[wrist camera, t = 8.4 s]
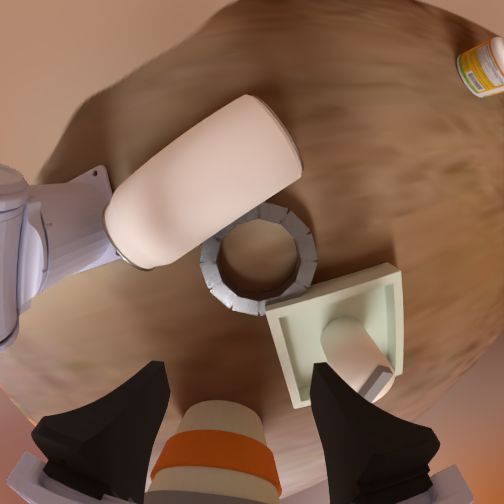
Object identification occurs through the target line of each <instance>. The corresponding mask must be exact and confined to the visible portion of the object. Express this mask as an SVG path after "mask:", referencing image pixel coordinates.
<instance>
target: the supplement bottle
mask: <svg viewBox="0 0 504 504" xmlns="http://www.w3.org/2000/svg"><path fill="white" fill-rule="evenodd" d="M457 69H458V72H459V74H460V77H461V78H462V80H463V82H464V84H465V85H466V86H467V88H468V89H469V90H470V91H471V92H472V93H473V94H475V95H476V96H478V97H487V96H491V95H494V94H498V93H502V92H504V39H503V38H501V37H495V38H492V39H490V40H488V41H486V42H484V43H482V44H480V45H478V46H476V47H474V48H472V49H470V50H468V51H466V52H464V53H462V54H460V55H459V56H458V58H457Z"/></svg>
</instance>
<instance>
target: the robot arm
mask: <svg viewBox="0 0 504 504" xmlns="http://www.w3.org/2000/svg"><path fill="white" fill-rule="evenodd" d="M96 171H97V176H95V172H96ZM112 196H113V194H112V190H111V186H110V182H109V178H108V174H107V170H106V167H105V166H103V165H99V166H97V167H95V168H93V169H91V170H89V171H87V172H85V173H83V174H82V175H80V176H78V177H76V178H74V179H73V180H71V181H69V182H67V183H58V184H42V185H29V184H28V183H27V181H25V179H24V177H23V175H22V174H21V173H20V172H19V171H17V170H16V169H14V168H11V167H9V166H6V165H3V164H0V353H2V352H4V351H5V350H7V349H8V348H9V347H10V346H11V345H12V344H13V343H14V341H15V339H16V338H17V335H18V332H19V315H20V314H22V313H23V312H25V311H26V310H28V309H29V308H30V303H31V300H32V299H33V298H34V297H35V296H36V295H38V294H39V293H41V292H43V291H44V290H46V289H48V288H49V287H51V286H53V285H54V284H56V283H58V282H60V281H61V280H63V279H65V278H67V277H68V276H70V275H73V274H76V273H78V272H81V271H84V270H87V269H90V268H93V267H96V266H99V265H102V264H105V263H108V262H111V261H114V260H117V259H120V258H122V257H121V256H120V255H119V254H118V252H117V251H116V250H115V248H114V247H113V246H112V244H111V242H110V241H109V239H108V237H107V235H106V233H105V230H104V227H103V222H102V212H103V209H104V208H105V206H106V205H108V204H110V201H111V199H112ZM170 392H171V391H170V388H169V383H168V379H167V375H166V371H165V366H164V362H160V361H151V362H150V363H148V364H147V365H146V366H145V367H144V368H142V369H141V370H140V371H139V372H138V373H136V374H135V375H134V376H133V377H131V378H130V379H129V380H128V381H126V382H125V383H124V384H122V385H121V386H119V387H118V388H116V389H115V390H114V391H112V392H111V393H109V394H107V395H106V396H104V397H102V398H100V399H98V400H96V401H94V402H92V403H90V404H88V405H85V406H83V407H81V408H78V409H75V410H72V411H68V412H65V413H61V414H56V415H51V416H45V417H43V418H42V419H41V420H40V422H39V423H38V424H37V426H36V427H35V428H34V430H33V431H32V433H31V435H32V438H33V440H34V442H35V444H36V445H37V446H38V448H39V449H40V450H41V451H42V452H43V454H44V455H45V456H46V457H47V458H48V462H47V464H46V463H44V462H43V461H42V460H40V459H39V458H37V457H35V456H34V455H32V454H30V453H28V452H26V451H25V452H24V454H23V455H22V457H21V458H20V460H19V461H18V463H17V464H16V466H15V467H14V469H13V471H12V472H11V474H10V475H9V477H8V478H7V480H6V483H7V484H8V485H9V486H10V487H11V488H12V489H13V490H14V491H15V492H17V493H18V494H19V495H20V496H21V497H22V498H24V499H25V500H26V501H27V502H28V503H30V504H144V492H145V484H146V477H147V471H148V466H149V461H150V456H151V452H152V447H153V444H154V441H155V438H156V436H157V433H158V431H159V428H160V425H161V423H162V420H163V417H164V415H165V412H166V409H167V406H168V402H169V397H170ZM309 394H310V401H311V407H312V412H313V416H314V419H315V422H316V426H317V429H318V432H319V436H320V439H321V442H322V446H323V450H324V455H325V462H326V468H327V476H328V484H329V494H330V504H471V503H472V502H474V500H475V499H474V496H473V495H472V493H471V491H470V489H469V487H468V485H467V483H466V482H465V480H464V478H463V476H462V475H461V473H460V471H459V469H458V467H457V466H456V465H452V466H450V467H448V468H446V469H445V470H442V471H440V472H438V473H436V474H434V475H433V476H432V477H429V475H428V472H429V471H430V469H429V466H428V463H429V462H430V460H431V459H432V458H433V457H434V456H435V454H436V453H437V451H438V450H439V447H440V442H439V440H438V439H437V437H436V435H435V433H434V432H433V430H432V429H431V428H428V427H425V426H421V425H417V424H414V423H411V422H408V421H405V420H402V419H400V418H398V417H395V416H393V415H391V414H389V413H387V412H385V411H383V410H382V409H380V408H378V407H377V406H375V405H374V404H372V403H370V402H369V401H367V400H366V399H365V398H363V397H362V396H361V395H360V394H358V393H357V392H356V391H355V390H354V389H353V388H351V387H350V386H349V385H348V384H347V383H346V382H345V381H344V380H343V379H342V378H341V377H340V376H339V375H338V374H337V373H336V372H335V371H334V370H333V369H332V368H331V367H330V365H329V364H328V363H327V362H321V363H314V365H313V372H312V379H311V386H310V392H309Z"/></svg>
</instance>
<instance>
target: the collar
mask: <svg viewBox="0 0 504 504" xmlns="http://www.w3.org/2000/svg"><path fill="white" fill-rule="evenodd" d="M255 219H262V220H266V221H270V222H274V223H278V224H281V225H282V226H283V227H284V228H285V229H286V230H287V231H288V232H289V233H290V234H291V235H292V236H293V237H294V240H295V244H296V249H297V253H298V258H297V262H296V265H295V268H294V272H293V275H292V276H291V277H290V278H289V279H288V280H287V281H285V282H284V283H283V284H282V285H281V286H280V287H279V288H278V289H274V290H271V291H267V292H263V293H259V294H258V293H254V292H250V291H245V290H241V289H239V288H238V287H236V286H235V285H234V284H233V283H232V282H231V281H230V280H229V279H228V278H227V277H225V276H224V273H223V269H222V266H221V263H220V260H219V257H218V256H219V252H220V248H221V243H222V239H223V238H224V237H225V236H226V235H227V234H228V233H229V232H230V231H231V230H232V229H233V228H234V227H235V226H236V225H237V224H241V223H244V222H248V221H251V220H255ZM316 260H318V257H317V253H316V248H315V244H314V239H313V235H312V233H311V232H310V229H309V228H308V227H307V226H306V225H305V224H304V223H303V222H302V221H301V220H300V219H299V218H298V217H297V216H296V215H295V214H294V213H293V212H292V211H291V210H290V209H288V208H286V207H284V206H280V205H277V204H273V203H269V202H265V201H264V202H262V203H261V204H259V205H258V206H256V207H255V208H253V209H251V210H250V211H248V212H247V213H245V214H244V215H242V216H241V217H239V218H238V219H236V220H235V221H233V222H232V223H230V224H229V225H227V226H226V227H224V228H223V229H221V230H220V231H218V232H217V233H216V234H214V235H213V236H211V237H210V238H208V239H207V240H205V241H204V242H203V245H202V250H201V255H200V259H199V261H201V262H200V267H201V270H202V273H203V276H204V279H205V282H206V285H207V288H208V289H209V288H211V289H210V292H211V293H212V294H213V295H214V296H215V297H217V298H218V299H219V300H220V301H221V302H222V303H223V304H225V305H226V306H227V307H228V308H230V307H232V306H233V308H232V310H234V311H238V312H243V313H247V314H251V315H256V316H258V313H259V312H260V315H261V316H262V315H266V313H265V306H268V305H272V304H276V303H280V302H283V301H287V300H291V299H294V298H298V297H301V296H302V295H303V294H304V293H305V292H307V291H308V289H307V287H309V288H310V285H311V282H312V279H313V276H314V273H315V270H316V267H317V264H318V262H317V261H316Z"/></svg>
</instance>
